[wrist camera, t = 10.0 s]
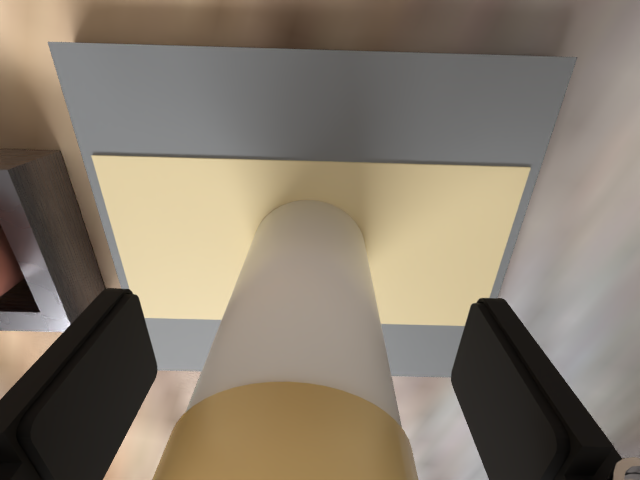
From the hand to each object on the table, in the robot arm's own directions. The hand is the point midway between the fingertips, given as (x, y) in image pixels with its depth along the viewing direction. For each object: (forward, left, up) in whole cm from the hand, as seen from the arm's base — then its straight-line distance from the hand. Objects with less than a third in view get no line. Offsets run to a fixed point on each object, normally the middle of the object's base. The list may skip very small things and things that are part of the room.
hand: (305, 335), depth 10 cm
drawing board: (0, 0, -6) cm, 6 cm away
